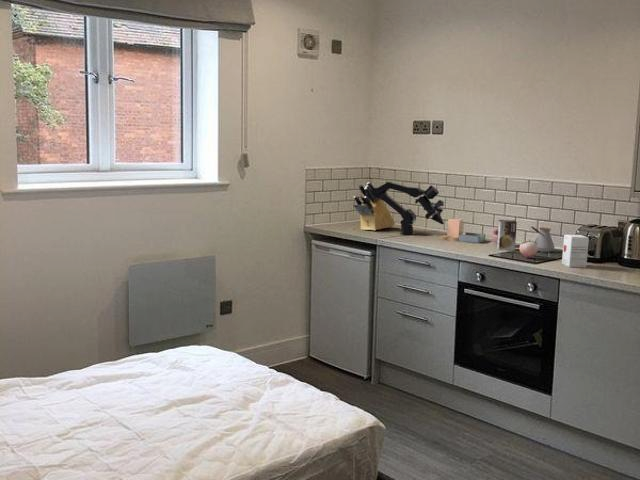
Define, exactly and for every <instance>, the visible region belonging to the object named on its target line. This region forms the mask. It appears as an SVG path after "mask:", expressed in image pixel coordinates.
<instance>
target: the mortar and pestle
mask: <svg viewBox="0 0 640 480" xmlns="http://www.w3.org/2000/svg"><path fill="white" fill-rule="evenodd" d="M491 240H492V242H493V243H494V244H495V245H497V243H498V227H496V228H493V230H492V231H491Z"/></svg>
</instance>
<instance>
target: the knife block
mask: <svg viewBox="0 0 640 480" xmlns="http://www.w3.org/2000/svg"><path fill="white" fill-rule="evenodd" d="M358 188H359V191H360V192H361V194H363V196H362V195H358V196H357V195H354V196H353V199H354V201H355V202H356V204H353V207H354V208H355V210H356V211H357V213H358V214H359V215H360V230H362V231H365V230H368V231H369V230H370V231H374V232H375V231H376V230H383V229H387V228H389V229H391V228H393V227H394V226H395V220H394V218H393V216H392V214H391V213H390V211H389V208H388V207H387V205H386V202H385V201H383V200H381V199H378V198H377V197H375V196H374V195H373V193H372V192H373V189H374V188H375V187H374V185H373V183H371V181H368V182H367V183H366V185H365V186H363V185H362V184H359V185H358ZM360 199H361V200H360Z"/></svg>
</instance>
